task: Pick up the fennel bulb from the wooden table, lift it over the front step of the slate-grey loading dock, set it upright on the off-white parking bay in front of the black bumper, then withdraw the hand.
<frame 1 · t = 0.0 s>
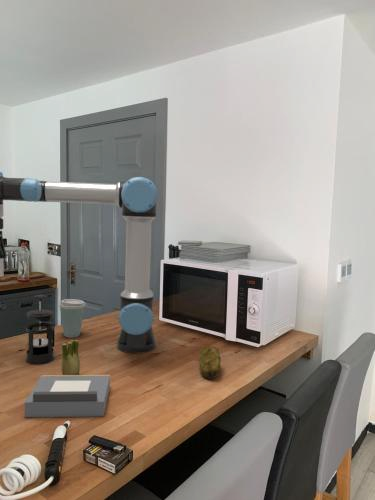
olive green oval lump: (208, 373, 134), on the table
french press: (41, 359, 140), on the table
disposable coffee cup: (72, 335, 166), on the table
fennel bulb: (70, 377, 127), on the table
loading dock: (70, 401, 111), on the table
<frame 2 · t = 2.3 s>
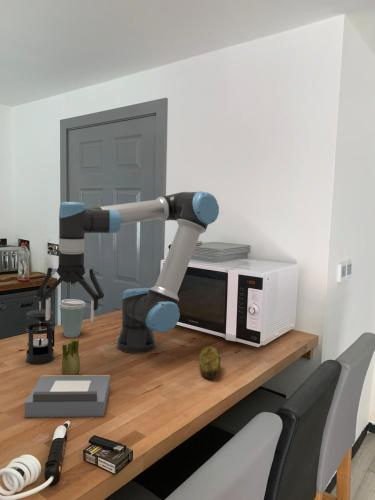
hand: (70, 319, 124), 19 cm above the table, tool pointing down, fingers open, 13 cm apart
nothing on the table moved.
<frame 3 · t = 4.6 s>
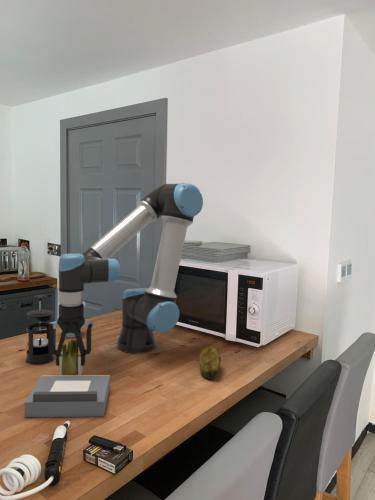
hand: (70, 374, 126), 1 cm above the table, tool pointing down, fingers closed on fennel bulb, 5 cm apart
fennel bulb: (70, 377, 127), on the table, touching gripper
everything else where it was.
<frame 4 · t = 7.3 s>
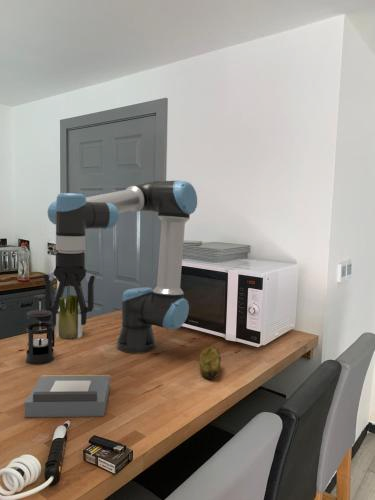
hand: (69, 335, 108), 19 cm above the table, tool pointing down, fingers closed on fennel bulb, 5 cm apart
fennel bulb: (69, 339, 109), point 18 cm above the table, touching gripper
everything else where it was.
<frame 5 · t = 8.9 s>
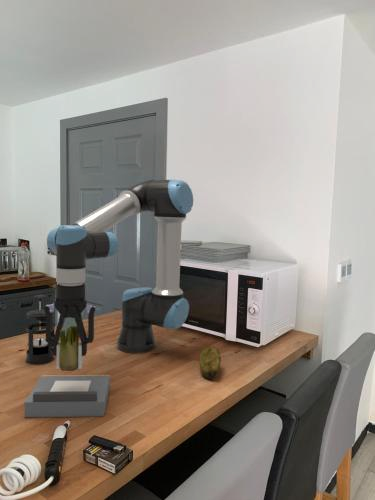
hand: (69, 366, 109), 11 cm above the table, tool pointing down, fingers closed on fennel bulb, 5 cm apart
fennel bulb: (69, 370, 109), point 10 cm above the table, touching gripper
everything else where it was.
when the fingers open (6 cm above the table, at t = 10.0 s): fennel bulb drops 1 cm, resting on loading dock.
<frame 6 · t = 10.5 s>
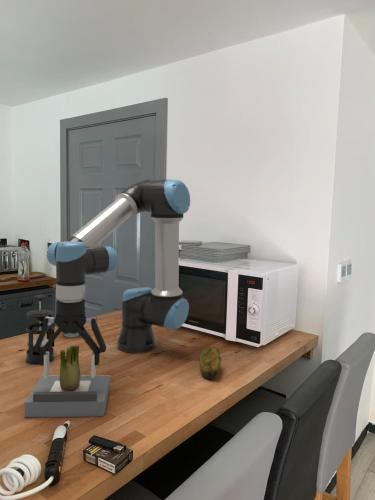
hand: (70, 376, 109), 8 cm above the table, tool pointing down, fingers open, 12 cm apart
fennel bulb: (69, 389, 110), point 4 cm above the table, touching loading dock
everything else where it was.
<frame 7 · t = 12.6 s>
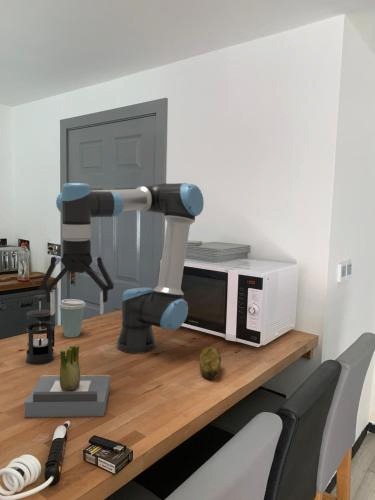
hand: (77, 313, 113), 24 cm above the table, tool pointing down, fingers open, 13 cm apart
nothing on the table moved.
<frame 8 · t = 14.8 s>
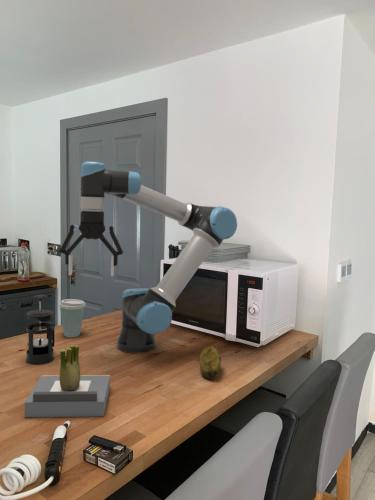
hand: (91, 275, 131), 32 cm above the table, tool pointing down, fingers open, 13 cm apart
nothing on the table moved.
at the end: fennel bulb inside the target area on the loading dock (0.0 cm from its centre), point 4.1 cm above the loading dock's base; fennel bulb tilted 0°; the gripper is holding nothing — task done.
